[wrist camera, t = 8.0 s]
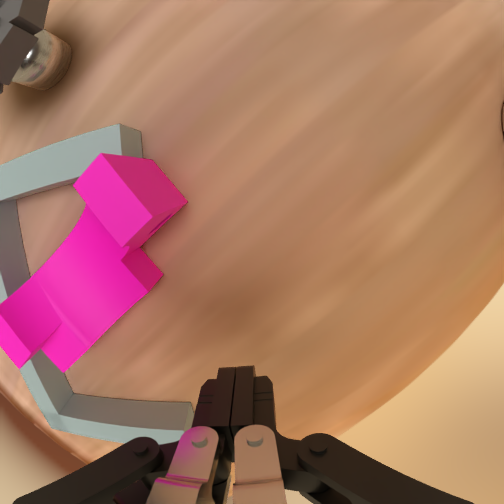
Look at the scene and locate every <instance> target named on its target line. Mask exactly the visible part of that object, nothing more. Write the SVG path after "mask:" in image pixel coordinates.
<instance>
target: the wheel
mask: <svg viewBox="0 0 504 504" xmlns="http://www.w3.org/2000/svg"><path fill="white" fill-rule="evenodd" d="M49 1H50V0H0V94H1V93H2V92H3V84H5V85H9V84H10V82H11V81H12V79H13V77H14V75H15V74H16V72H17V71H18V69H19V67H20V66H21V64H22V63H23V61H24V60H25V58H26V57H27V55H28V54H29V52H30V51H31V49H32V48H33V46H34V45H35V44H36V42H37V41H38V39H39V38H37V37H36V36H34V35H35V34H37V33H38V32H40V31H42V30H43V28H44V23H45V18H46V14H47V9H48V5H49Z"/></svg>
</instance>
